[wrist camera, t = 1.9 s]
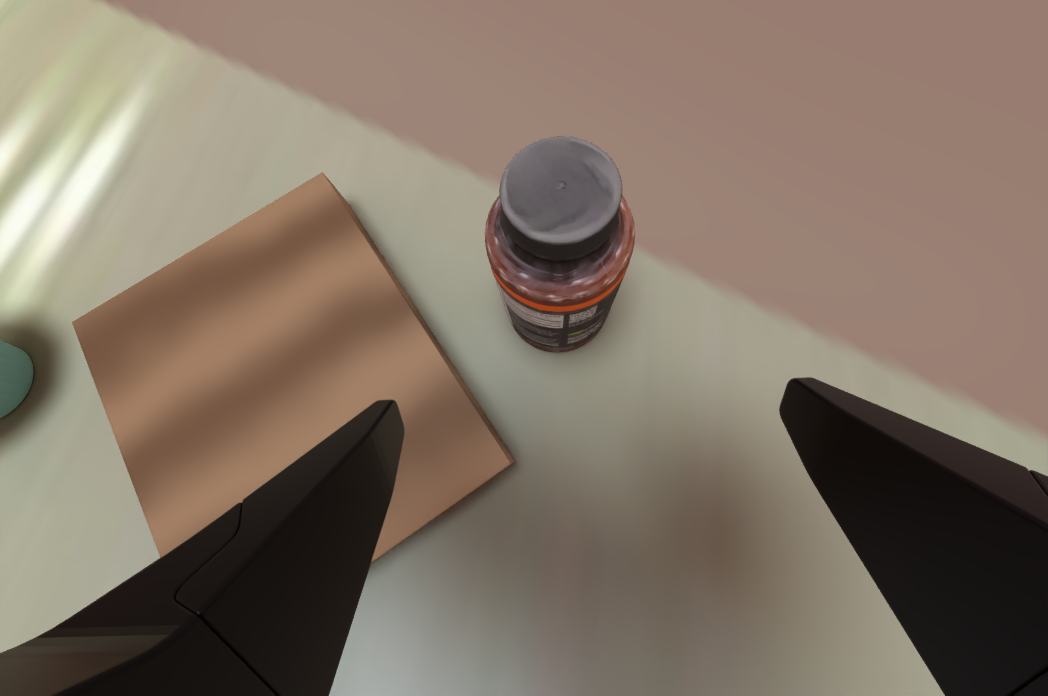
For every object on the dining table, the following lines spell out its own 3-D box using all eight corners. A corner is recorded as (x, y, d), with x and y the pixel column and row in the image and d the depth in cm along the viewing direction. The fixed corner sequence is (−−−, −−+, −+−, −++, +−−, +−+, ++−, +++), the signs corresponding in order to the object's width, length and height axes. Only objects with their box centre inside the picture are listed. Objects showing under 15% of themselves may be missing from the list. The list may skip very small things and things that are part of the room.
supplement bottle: (549, 242, 25) (550, 78, 14) (627, 299, 23) (696, 168, 12) (486, 313, 24) (432, 198, 13) (563, 375, 22) (578, 307, 12)
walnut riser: (515, 461, 21) (510, 463, 19) (256, 645, 20) (206, 679, 17) (347, 202, 26) (322, 172, 23) (127, 336, 25) (72, 322, 22)
